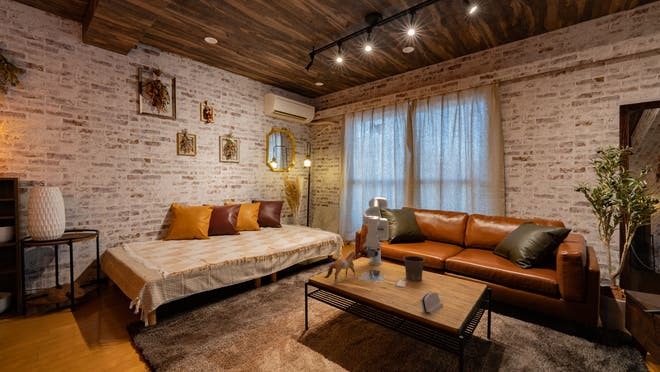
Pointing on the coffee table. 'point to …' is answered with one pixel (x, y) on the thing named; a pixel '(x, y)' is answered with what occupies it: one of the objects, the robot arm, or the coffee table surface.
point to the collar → (372, 253)
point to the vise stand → (372, 276)
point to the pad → (401, 283)
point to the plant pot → (414, 267)
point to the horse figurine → (342, 266)
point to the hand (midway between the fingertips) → (372, 255)
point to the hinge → (431, 302)
